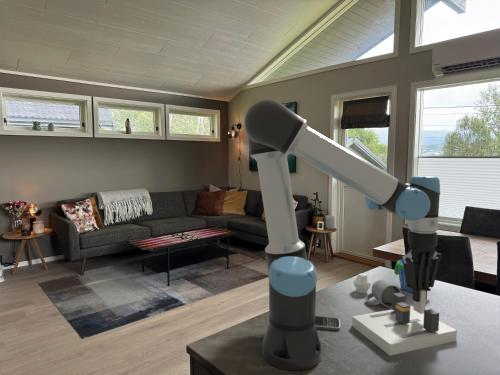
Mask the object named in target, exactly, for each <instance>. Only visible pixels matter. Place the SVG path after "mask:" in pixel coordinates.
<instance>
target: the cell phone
mask: <svg viewBox="0 0 500 375" xmlns="http://www.w3.org/2000/svg"><path fill="white" fill-rule="evenodd" d="M340 320H341V319H339V318H337V317H330V316H318V315H315V326H316V329H317V330H318V329H319V330H327V331H339V330H341V321H340Z"/></svg>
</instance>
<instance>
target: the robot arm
mask: <svg viewBox="0 0 500 375" xmlns="http://www.w3.org/2000/svg"><path fill="white" fill-rule="evenodd" d="M243 123H244V129H245V133H246V134H247V141H248V147H249V153H250V154H249V155H250V157H251V158H253V159H254V160H255V161H256V164H257V171H258V177H259V183H260V190H261V197H262V203H263V204H262V205H263V210H264V217H265V224H266V231H267V236H268V244H267V246H266V247H265V248H264V251H265V257H266V258H265V259H266V266H267V271H268V272H267V273H268V324H267V327H266V329H265V333H264V336H263V339H262V342H261V354H262V357H263V358H264V360H265V362H267V363H268V364H270V365H272V366H274V367H276V368H278V369H282V370H287V371H305V370H308V369H312V368H313V367H316V366H317V365H318V364H319V363H320V362H321V360H322V357H323V347H322V342H321V340H320V339H321V338H320V337H319V333H318V329H317V328H316V326H315V316H316V302H317V301H316V297H317V295H316V294H317V282H318V281H317V280H318V276H317V270H316V267H315V265H314V264H313V263H312V262H311V261H310V260H309V259H308V257H307V252H306V251H307V249H306V244H305V242H303V241H302V240H301V239H300V238H299V232H298V226H297V218H296V212H295V210H296V209H295V205H294V197H293V190H292V184H291V182H292V181H291V175H290V169H289V163H288V156H289V155H290V154H292V155H293V156H295V157H296V158H298V159H300V160H302V161H304V162H305V163H307V164H309V165H310V166H312V167H314V168H316V169H318V170H319V171H320V172H323V173H324V174H326V175H327V176H329V177H331V178H333V179H334V180H336V181H338V182H340V183H342V184H343V185H345V186H346V187H348V188H350V189H352V190H353V191H354V192H355V191H356V192H357V193H359V194H360V195H362V196H363V197H364V199H365V200H364V201H365V205H366V207H367V209H368V210H372V211H373V210H374V211H387V212H389V213H391V214H394V215H395V216H398V217H400V218H401V219H403V220H406V221H408V225H407V226H408V227H407V228H408V229H409V230H408V231H407V244H408V246H409V247H408V248H407V249H408V250H407V253H406V254H405V255H401V256H400V260H402V262H403V265H404V271H405V277H406V284H407V287H409V288H411V289H413V292H412V301H413V307H414V311H416V312H418V313H420V314H423V313H424V310H426V301H427V298H428V292H430V291H431V289H432V288H433V287H434V285H435V281H436V278H437V277H436V276H437V273H438V268H439V264H440V261H441V260H442V257H443V254H441V253H439V252H437V251H436V249H437V248H436V247H437V245H438V237H439V235H438V232H437V231H438V230H439V212H440V208H439V207H440V196H441V183H440V178H439V177H437V176H434V175H433V176H432V175H412V176H410V178H409V181H408V182H403V181H401V179H398V178H397V177H395V176H393V175H392V174H390V173H388V172H386V171H384V170H383V169H381V168H379V167H378V166H377V165H375V164H372V163H371V162H370V161H367V160H366V159H364V158H362V157H361V156H360V155H358V154H355V153H354V152H352V151H350V150H349V149H347V148H345V147H344V146H342V145H340V143H339V144H338V143H337V142H335V141H334V140H332V139H330V138H328V137H326V136H325V135H323V134H321V133H320V132H318V131H316V130H315V129H313V128H311V127H310V126H309V125H308V123H307V120H306V119H304V118H303V117H302V116H300V115H298V114H296V113H295V112H293V111H292V110H291V109H290V108H288V107H286V106H285V105H284V104H282V103H281V102H279V101H277V100H272V99H262V100H259V101H257V102H254V103H253V104H252V105H251V106H250V107H249V108H248V110H247V111H246V113H245V117H244V122H243ZM429 281H430V282H429Z"/></svg>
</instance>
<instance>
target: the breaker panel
mask: <svg viewBox="0 0 500 375" xmlns="http://www.w3.org/2000/svg"><path fill="white" fill-rule="evenodd" d="M409 306H410V323H408V324H401V323H399V322H398V321H396V311H394V310H392V309H388V310H381V311H377V312H370V313H364V314H359V315H352V318H351V323H352V324H351V326H352V328H354V329H355V330H356V331H358V332H359V333H360V334H361V335H363V336H364V337H365V338H367V339H368V340H369V341H370V342H371V343H373V344H374V345H375V346H377V347H378V348H380V349H381V350H382V351H383V352H385V353H386V354H387V355H388V356H394V355H399V354H403V353H409V352H413V351H416V350H421V349H427V348H430V347H431V348H432V347H435V346H440V345H443V344H444V345H445V344H449V343H453V342H457V337H458V336H457V334H458V332H457V331H458V330H457V329H455V328H453V327H452V326H449V325H448V324H446V323H445V322H443V321H440V320H439V329H438V331H436V332H432V333H431V332H429V331H428V330H426V329H424V328H423V324H424V313H423V314H420V313H418V312H416V311H414V305H413V306H412V305H409Z"/></svg>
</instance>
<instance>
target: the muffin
mask: <svg viewBox="0 0 500 375" xmlns="http://www.w3.org/2000/svg"><path fill="white" fill-rule="evenodd" d="M353 284H354V285H353V286H354V287H355V289H356V291H357V293H360V294H367V292H368V291H369V289H370V287H371V286H372V282H371V280H370V279H369V278H368V275H367V274H366V273H363V272H362V273H358V274H357V276H356V277H355V278H354V280H353Z"/></svg>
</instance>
